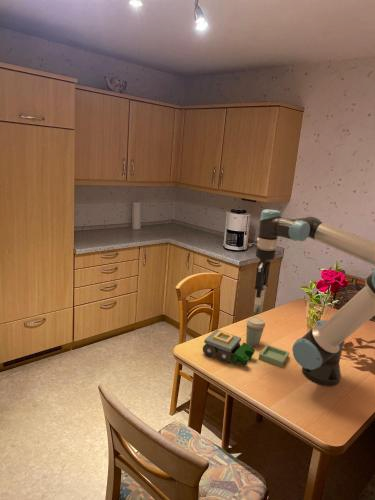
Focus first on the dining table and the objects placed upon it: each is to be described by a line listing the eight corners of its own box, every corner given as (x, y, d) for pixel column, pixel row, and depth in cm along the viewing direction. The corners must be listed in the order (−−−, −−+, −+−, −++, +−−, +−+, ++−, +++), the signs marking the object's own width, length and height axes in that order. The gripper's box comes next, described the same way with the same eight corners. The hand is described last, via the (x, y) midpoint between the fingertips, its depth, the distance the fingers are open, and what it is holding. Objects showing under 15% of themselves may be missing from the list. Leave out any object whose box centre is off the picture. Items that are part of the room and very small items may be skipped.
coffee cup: (253, 350, 168) (257, 326, 165) (239, 342, 174) (243, 318, 171) (265, 345, 174) (269, 322, 170) (251, 337, 180) (254, 314, 176)
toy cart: (239, 353, 164) (242, 335, 162) (229, 365, 154) (232, 347, 152) (213, 343, 170) (215, 326, 168) (201, 354, 160) (203, 336, 158)
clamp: (240, 375, 156) (245, 364, 150) (228, 367, 158) (232, 355, 152) (253, 355, 164) (258, 343, 157) (242, 348, 166) (246, 336, 160)
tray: (288, 357, 165) (289, 352, 165) (282, 367, 157) (283, 362, 156) (265, 349, 170) (266, 344, 169) (258, 359, 161) (259, 354, 161)
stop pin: (263, 311, 157) (267, 284, 154) (261, 315, 154) (264, 287, 151) (254, 309, 159) (257, 282, 156) (251, 312, 155) (254, 285, 152)
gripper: (262, 243, 158) (255, 295, 164) (251, 250, 144) (244, 306, 150) (280, 246, 155) (272, 299, 161) (270, 253, 141) (262, 311, 147)
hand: (259, 302), depth 155 cm, fingers closed on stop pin, 3 cm apart
